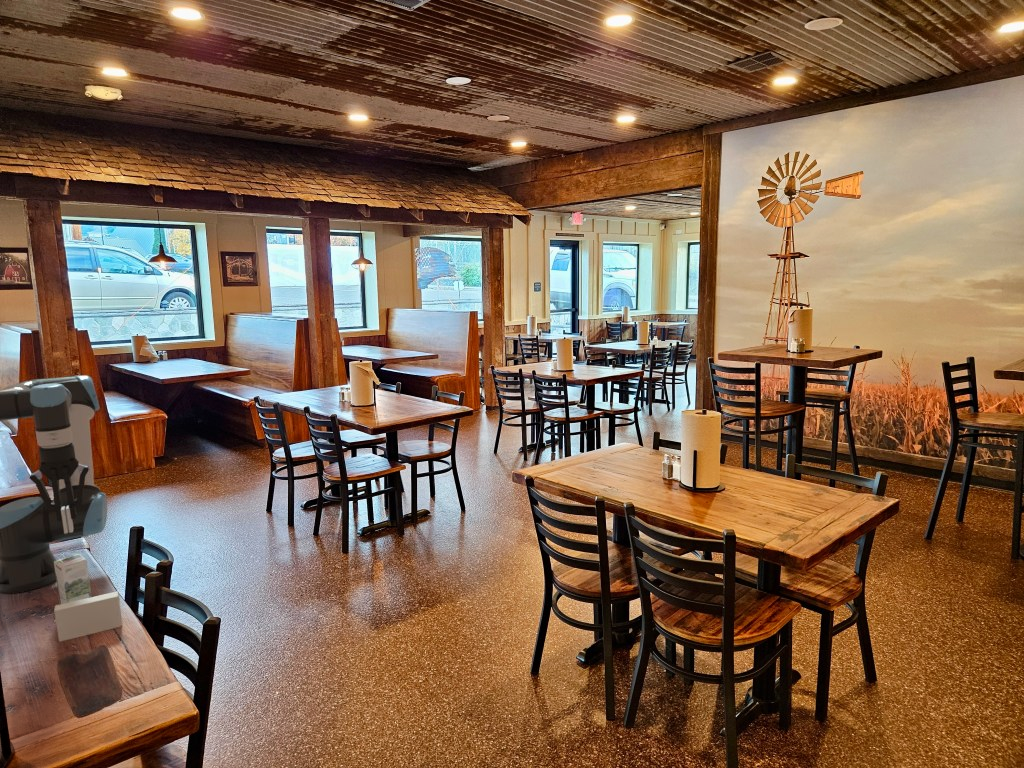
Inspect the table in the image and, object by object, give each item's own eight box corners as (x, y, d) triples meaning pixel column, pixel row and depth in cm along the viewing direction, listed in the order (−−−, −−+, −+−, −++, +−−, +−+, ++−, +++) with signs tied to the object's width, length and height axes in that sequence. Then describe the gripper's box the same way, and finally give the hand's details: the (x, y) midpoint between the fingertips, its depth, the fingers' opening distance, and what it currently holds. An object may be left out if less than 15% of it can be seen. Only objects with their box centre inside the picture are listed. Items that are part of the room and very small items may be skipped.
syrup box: (85, 603, 176) (78, 552, 174) (94, 610, 173) (86, 558, 170) (61, 612, 172) (52, 560, 169) (69, 620, 168) (60, 566, 166)
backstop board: (60, 635, 161) (55, 605, 160) (122, 620, 167) (118, 591, 166) (59, 641, 158) (54, 610, 157) (122, 626, 165) (117, 596, 163)
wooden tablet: (126, 696, 136) (68, 712, 130) (126, 707, 136) (68, 723, 130) (107, 641, 157) (55, 653, 150) (107, 650, 157) (55, 662, 151)
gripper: (21, 452, 164) (36, 541, 169) (85, 443, 171) (98, 530, 175) (25, 445, 171) (39, 531, 175) (87, 437, 177) (99, 521, 182)
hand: (69, 531), depth 175 cm, fingers closed
